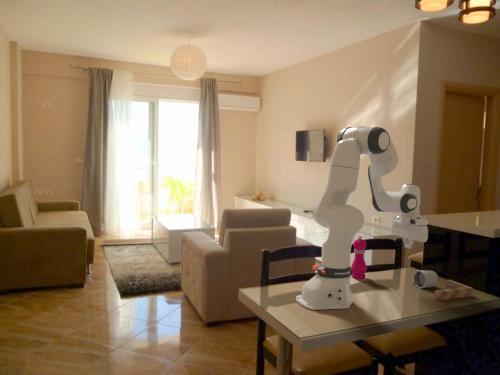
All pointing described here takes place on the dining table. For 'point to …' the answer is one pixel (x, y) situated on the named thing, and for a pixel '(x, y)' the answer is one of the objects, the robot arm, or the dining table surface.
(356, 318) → the dining table surface
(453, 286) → the walnut stop
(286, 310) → the dining table surface
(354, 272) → the pepper mill
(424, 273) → the ceramic mug
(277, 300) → the dining table surface
